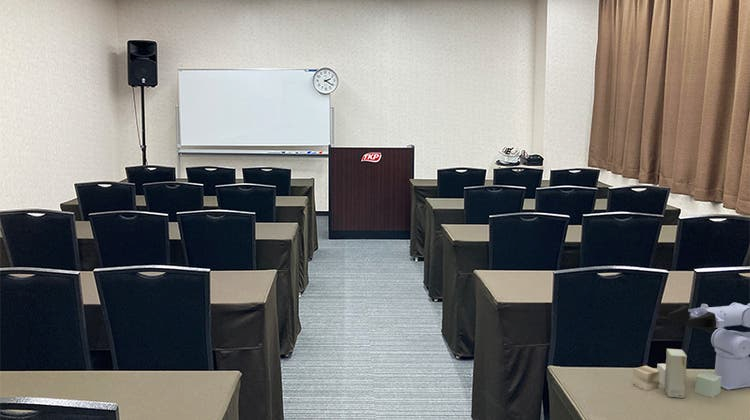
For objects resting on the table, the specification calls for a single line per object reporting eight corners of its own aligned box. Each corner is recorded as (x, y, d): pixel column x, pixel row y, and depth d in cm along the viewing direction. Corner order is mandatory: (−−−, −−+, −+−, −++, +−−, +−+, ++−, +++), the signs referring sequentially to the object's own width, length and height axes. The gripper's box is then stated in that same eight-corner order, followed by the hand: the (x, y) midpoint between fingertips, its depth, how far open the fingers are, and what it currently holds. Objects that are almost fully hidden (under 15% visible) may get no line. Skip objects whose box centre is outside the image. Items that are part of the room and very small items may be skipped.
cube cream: (672, 379, 213) (673, 363, 212) (680, 386, 208) (681, 369, 207) (656, 379, 213) (657, 363, 212) (663, 386, 208) (665, 370, 207)
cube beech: (644, 381, 211) (645, 365, 211) (658, 387, 207) (659, 371, 206) (632, 384, 209) (633, 368, 208) (646, 390, 205) (647, 374, 204)
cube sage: (702, 388, 207) (703, 371, 206) (720, 393, 203) (721, 376, 202) (694, 392, 203) (696, 376, 203) (712, 398, 200) (714, 381, 199)
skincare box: (684, 398, 199) (687, 356, 197) (668, 397, 200) (671, 355, 198) (679, 389, 205) (682, 348, 203) (663, 388, 206) (666, 347, 204)
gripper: (699, 298, 211) (661, 300, 207) (738, 308, 198) (698, 311, 193) (698, 321, 212) (660, 324, 208) (736, 333, 198) (697, 337, 194)
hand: (678, 320), depth 201 cm, fingers open, 7 cm apart
